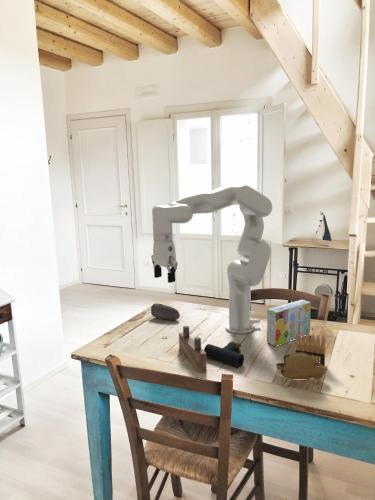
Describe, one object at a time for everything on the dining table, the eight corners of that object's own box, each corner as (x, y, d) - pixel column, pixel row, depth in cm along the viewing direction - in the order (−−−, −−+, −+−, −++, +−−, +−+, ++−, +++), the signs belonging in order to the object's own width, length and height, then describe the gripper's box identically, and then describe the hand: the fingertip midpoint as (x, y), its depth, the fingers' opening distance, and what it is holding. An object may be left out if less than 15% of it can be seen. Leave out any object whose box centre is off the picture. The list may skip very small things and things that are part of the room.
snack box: (300, 331, 180) (301, 298, 177) (310, 335, 175) (312, 302, 173) (266, 343, 168) (266, 308, 166) (275, 347, 164) (276, 312, 161)
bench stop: (186, 348, 164) (185, 322, 162) (206, 371, 145) (206, 342, 143) (179, 349, 163) (178, 323, 161) (198, 373, 144) (198, 344, 142)
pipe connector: (220, 336, 163) (253, 345, 154) (220, 348, 165) (253, 358, 155) (203, 346, 155) (236, 357, 145) (203, 359, 156) (236, 370, 147)
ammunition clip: (294, 362, 151) (295, 332, 148) (294, 360, 152) (296, 330, 150) (324, 367, 147) (326, 336, 145) (324, 365, 149) (326, 334, 146)
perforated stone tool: (182, 319, 196) (182, 305, 195) (177, 323, 192) (176, 309, 191) (155, 315, 203) (155, 301, 202) (150, 318, 199) (149, 304, 197)
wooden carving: (321, 375, 141) (322, 348, 139) (325, 382, 137) (327, 354, 135) (274, 376, 141) (275, 349, 139) (277, 383, 136) (278, 355, 135)
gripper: (183, 238, 153) (185, 282, 157) (159, 233, 167) (160, 273, 170) (167, 241, 149) (169, 286, 152) (143, 235, 163) (145, 277, 166)
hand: (164, 279), depth 161 cm, fingers open, 9 cm apart
